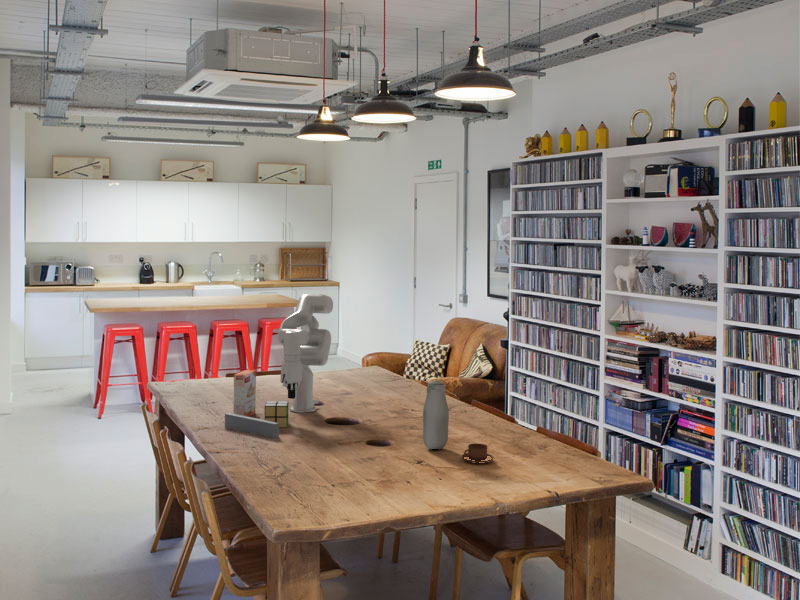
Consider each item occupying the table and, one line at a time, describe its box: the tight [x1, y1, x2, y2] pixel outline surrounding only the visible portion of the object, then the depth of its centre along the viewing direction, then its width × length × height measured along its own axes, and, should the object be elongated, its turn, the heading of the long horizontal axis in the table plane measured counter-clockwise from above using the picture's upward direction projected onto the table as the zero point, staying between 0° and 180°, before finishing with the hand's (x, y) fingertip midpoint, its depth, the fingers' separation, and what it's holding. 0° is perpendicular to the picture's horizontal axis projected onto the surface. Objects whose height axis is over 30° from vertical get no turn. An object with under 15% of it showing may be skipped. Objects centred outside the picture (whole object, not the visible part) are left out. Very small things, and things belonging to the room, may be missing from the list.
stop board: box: [224, 412, 280, 439], centre depth 356 cm, size 2×30×6 cm, turn 55°
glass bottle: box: [422, 380, 450, 450], centre depth 333 cm, size 10×10×28 cm
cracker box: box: [232, 369, 257, 417], centre depth 384 cm, size 14×6×21 cm, turn 168°
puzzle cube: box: [264, 400, 290, 429], centre depth 369 cm, size 10×10×10 cm
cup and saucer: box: [461, 443, 494, 464], centre depth 318 cm, size 12×12×6 cm
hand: (291, 398), depth 376 cm, fingers closed
